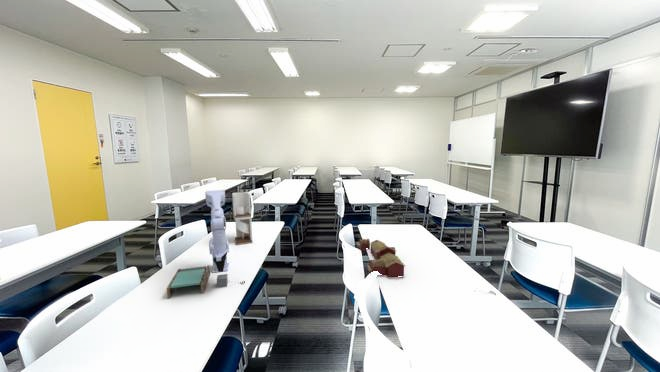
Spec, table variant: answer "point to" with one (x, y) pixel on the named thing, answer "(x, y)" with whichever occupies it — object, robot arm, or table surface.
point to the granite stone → (222, 280)
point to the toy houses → (383, 258)
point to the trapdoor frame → (203, 282)
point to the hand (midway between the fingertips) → (221, 269)
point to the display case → (242, 217)
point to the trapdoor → (188, 277)
